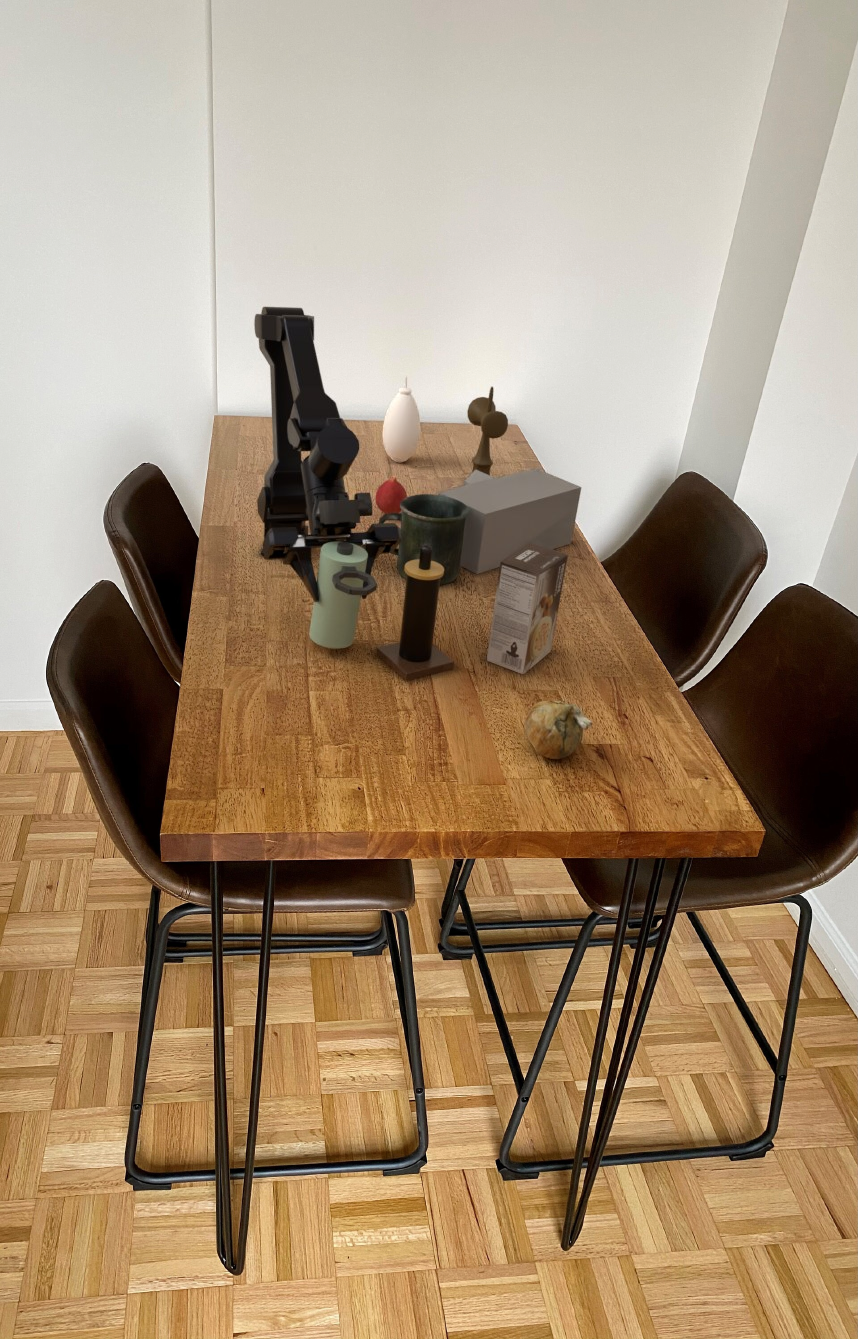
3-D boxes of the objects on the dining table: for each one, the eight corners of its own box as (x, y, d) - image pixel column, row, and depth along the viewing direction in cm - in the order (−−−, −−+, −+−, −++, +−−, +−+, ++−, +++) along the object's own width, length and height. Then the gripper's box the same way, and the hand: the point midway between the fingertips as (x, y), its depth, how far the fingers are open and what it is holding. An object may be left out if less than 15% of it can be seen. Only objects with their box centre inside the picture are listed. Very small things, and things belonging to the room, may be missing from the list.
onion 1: (369, 518, 193) (372, 477, 189) (381, 508, 198) (385, 468, 194) (397, 525, 192) (401, 484, 188) (410, 515, 197) (414, 474, 192)
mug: (460, 591, 171) (469, 522, 165) (371, 582, 170) (377, 513, 164) (461, 563, 180) (469, 497, 174) (376, 554, 180) (381, 488, 174)
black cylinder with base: (375, 654, 150) (385, 538, 141) (422, 643, 154) (434, 529, 145) (405, 681, 145) (418, 561, 136) (453, 668, 149) (468, 552, 140)
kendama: (486, 474, 220) (498, 379, 210) (500, 491, 212) (514, 393, 202) (458, 474, 218) (470, 378, 208) (472, 492, 210) (485, 393, 200)
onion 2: (574, 734, 137) (585, 682, 133) (584, 770, 130) (596, 716, 126) (517, 731, 137) (526, 678, 133) (524, 767, 130) (534, 713, 126)
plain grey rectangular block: (480, 501, 207) (487, 447, 201) (571, 543, 193) (581, 487, 187) (385, 526, 191) (390, 469, 185) (477, 574, 177) (485, 513, 172)
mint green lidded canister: (305, 625, 151) (317, 533, 143) (348, 625, 153) (363, 535, 146) (322, 674, 141) (337, 578, 133) (368, 673, 143) (385, 579, 135)
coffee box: (513, 638, 159) (529, 540, 151) (551, 652, 156) (570, 553, 148) (484, 661, 152) (499, 560, 144) (523, 676, 149) (541, 574, 141)
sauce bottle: (416, 469, 219) (425, 383, 210) (379, 465, 218) (386, 379, 209) (417, 456, 225) (425, 372, 216) (381, 453, 225) (387, 369, 216)
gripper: (268, 471, 137) (284, 585, 134) (404, 468, 143) (421, 577, 140) (256, 504, 148) (270, 610, 144) (382, 500, 154) (399, 602, 151)
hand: (340, 599), depth 145 cm, fingers closed on mint green lidded canister, 6 cm apart
